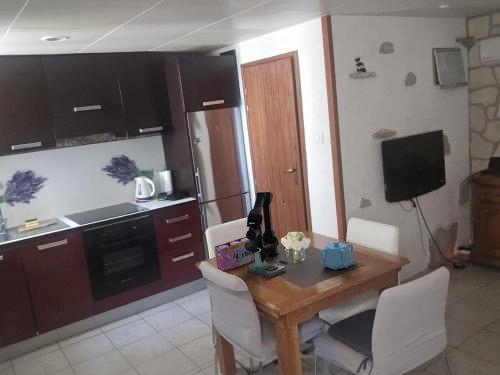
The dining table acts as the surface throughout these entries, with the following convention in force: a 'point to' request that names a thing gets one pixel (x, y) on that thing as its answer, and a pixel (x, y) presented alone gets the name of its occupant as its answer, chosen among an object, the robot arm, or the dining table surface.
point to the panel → (267, 270)
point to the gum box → (233, 254)
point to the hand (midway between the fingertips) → (260, 261)
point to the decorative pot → (337, 255)
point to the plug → (259, 260)
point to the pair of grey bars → (281, 261)
